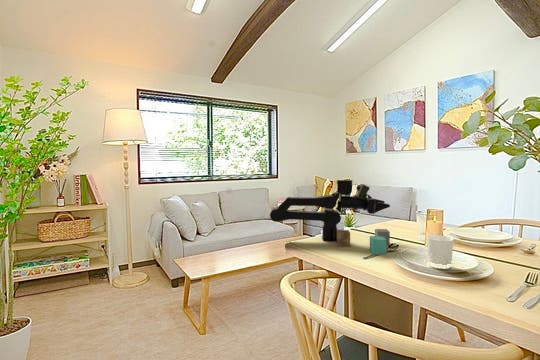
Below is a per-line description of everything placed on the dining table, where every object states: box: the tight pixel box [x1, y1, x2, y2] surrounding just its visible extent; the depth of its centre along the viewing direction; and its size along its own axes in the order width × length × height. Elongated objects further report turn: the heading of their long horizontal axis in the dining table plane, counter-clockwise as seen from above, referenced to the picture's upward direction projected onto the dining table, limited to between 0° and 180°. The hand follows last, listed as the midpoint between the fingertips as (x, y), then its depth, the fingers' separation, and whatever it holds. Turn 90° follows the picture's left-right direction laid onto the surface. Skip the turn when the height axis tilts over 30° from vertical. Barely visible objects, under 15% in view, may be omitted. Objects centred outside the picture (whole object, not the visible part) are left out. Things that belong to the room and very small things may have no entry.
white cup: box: [426, 234, 455, 265], centre depth 107 cm, size 8×8×10 cm
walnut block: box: [336, 229, 351, 248], centre depth 134 cm, size 5×5×6 cm
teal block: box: [369, 235, 387, 256], centre depth 123 cm, size 5×5×6 cm
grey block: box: [374, 228, 391, 246], centre depth 136 cm, size 5×5×6 cm
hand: (386, 203), depth 140 cm, fingers open, 9 cm apart
